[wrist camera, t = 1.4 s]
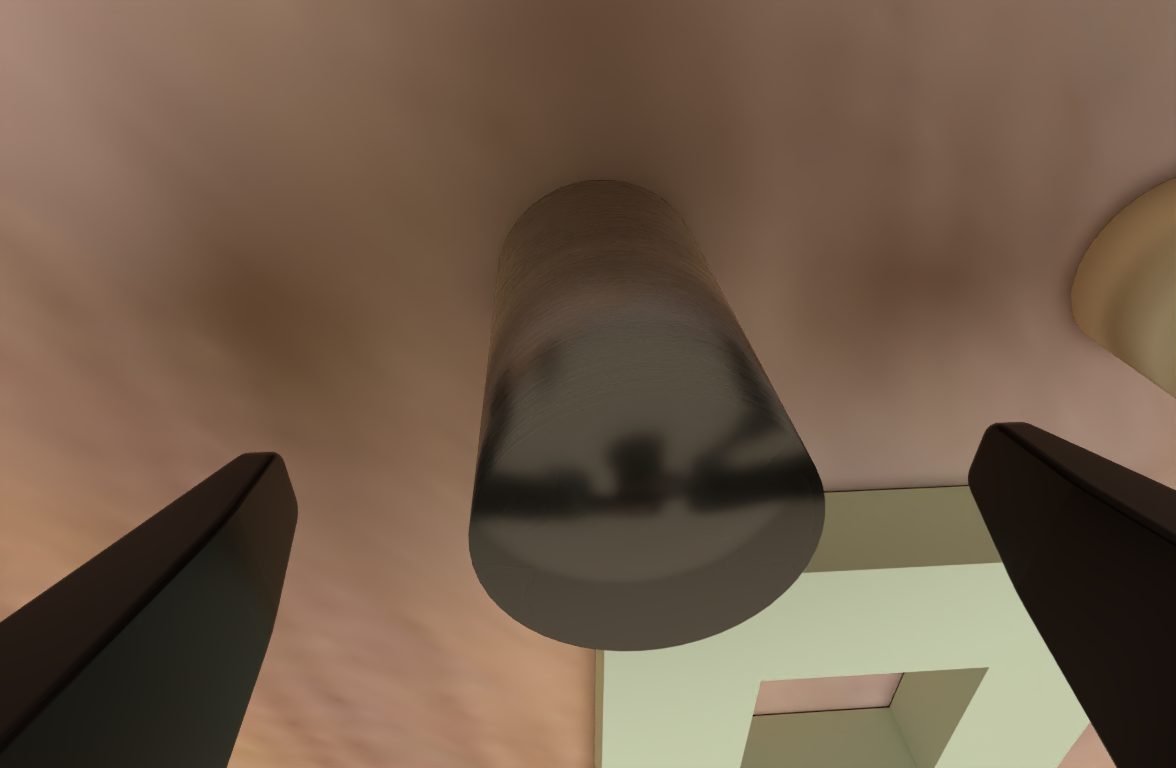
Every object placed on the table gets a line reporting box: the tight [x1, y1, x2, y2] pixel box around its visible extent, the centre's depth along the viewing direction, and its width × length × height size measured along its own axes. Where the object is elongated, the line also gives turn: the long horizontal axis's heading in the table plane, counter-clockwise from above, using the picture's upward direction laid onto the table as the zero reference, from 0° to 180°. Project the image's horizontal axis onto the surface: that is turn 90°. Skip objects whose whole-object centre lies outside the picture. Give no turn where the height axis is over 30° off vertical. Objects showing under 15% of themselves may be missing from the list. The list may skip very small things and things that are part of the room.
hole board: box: [594, 486, 1090, 768], centre depth 20 cm, size 14×14×2 cm
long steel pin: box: [469, 180, 825, 651], centre depth 10 cm, size 4×4×7 cm
